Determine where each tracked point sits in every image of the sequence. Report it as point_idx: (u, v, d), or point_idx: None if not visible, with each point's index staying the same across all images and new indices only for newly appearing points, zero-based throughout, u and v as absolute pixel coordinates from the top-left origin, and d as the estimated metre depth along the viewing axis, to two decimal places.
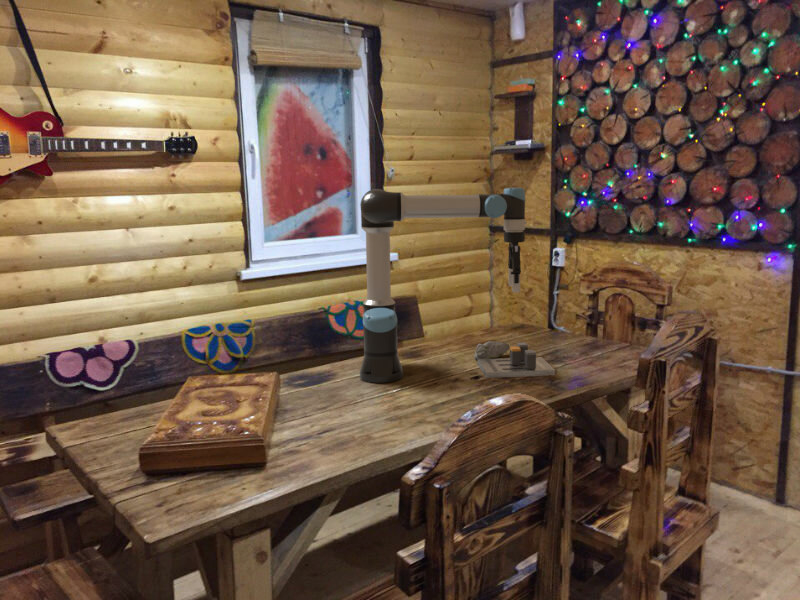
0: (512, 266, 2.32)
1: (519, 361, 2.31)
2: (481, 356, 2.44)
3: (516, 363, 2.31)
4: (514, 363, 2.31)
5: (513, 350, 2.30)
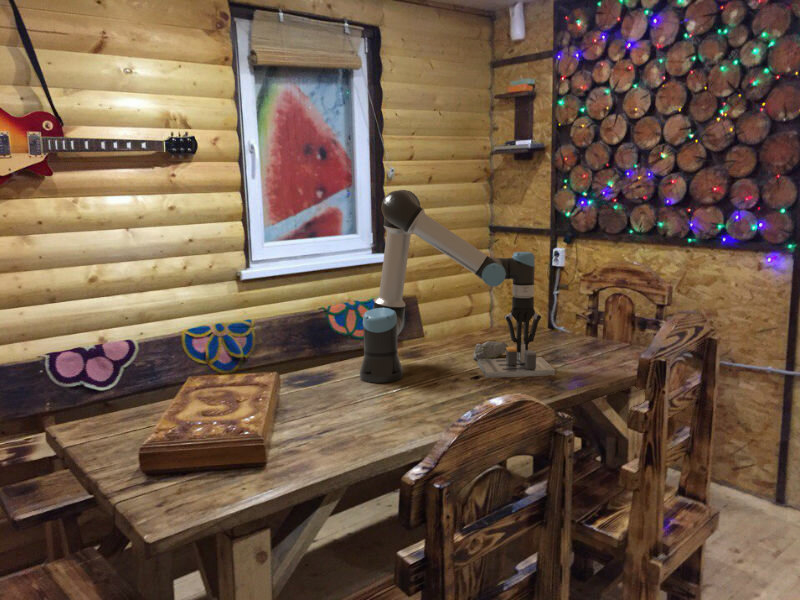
0: None
1: (515, 361, 2.31)
2: (480, 356, 2.44)
3: (512, 363, 2.31)
4: (510, 363, 2.31)
5: (509, 350, 2.30)
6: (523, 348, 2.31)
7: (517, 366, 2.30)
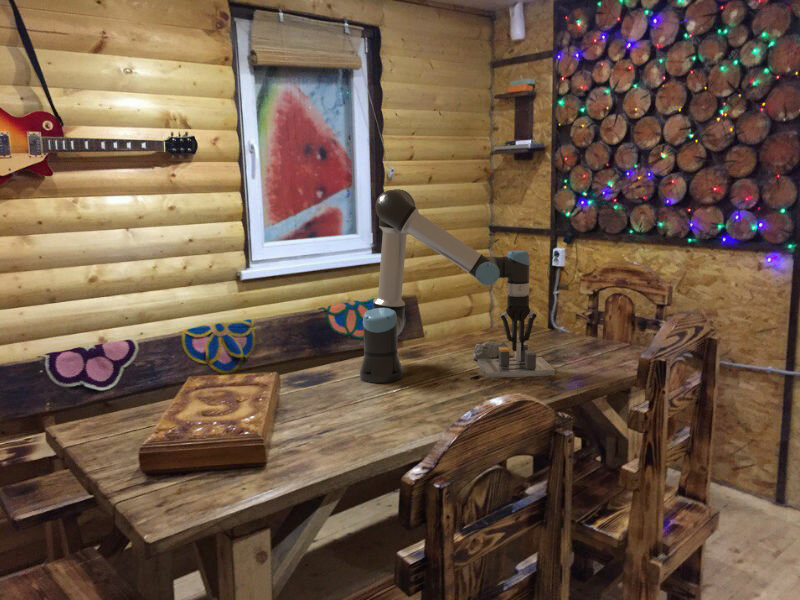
0: None
1: (508, 361, 2.31)
2: (479, 356, 2.44)
3: (505, 363, 2.31)
4: (503, 363, 2.31)
5: (502, 350, 2.30)
6: (518, 347, 2.31)
7: (517, 366, 2.30)
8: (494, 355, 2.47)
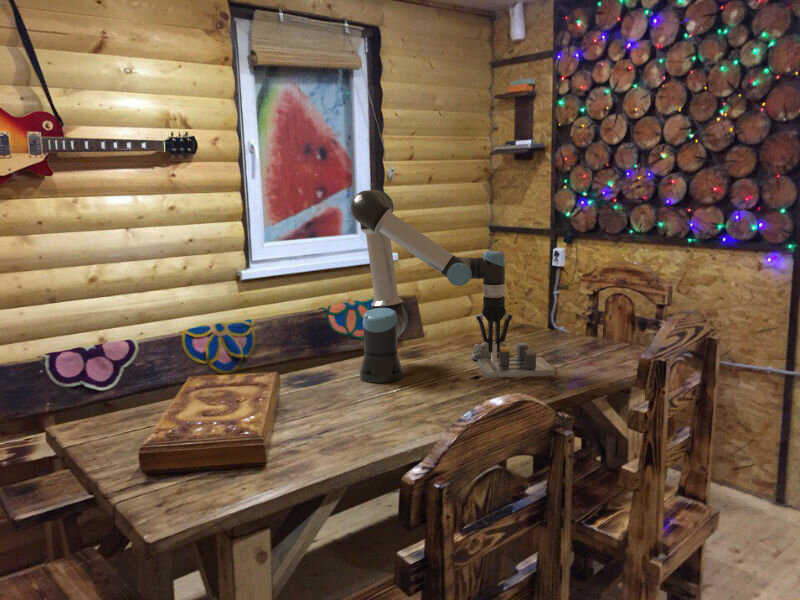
0: None
1: (508, 361, 2.31)
2: (478, 356, 2.44)
3: (505, 363, 2.31)
4: (503, 363, 2.31)
5: (502, 350, 2.30)
6: (494, 348, 2.30)
7: (517, 366, 2.30)
8: None
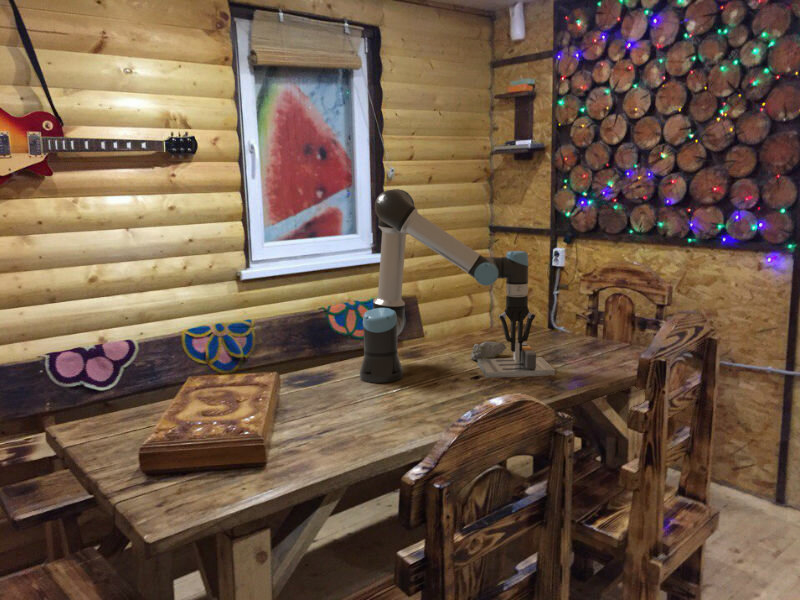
0: None
1: None
2: (478, 356, 2.44)
3: None
4: None
5: (524, 350, 2.30)
6: (517, 347, 2.31)
7: (517, 366, 2.30)
8: (492, 355, 2.47)
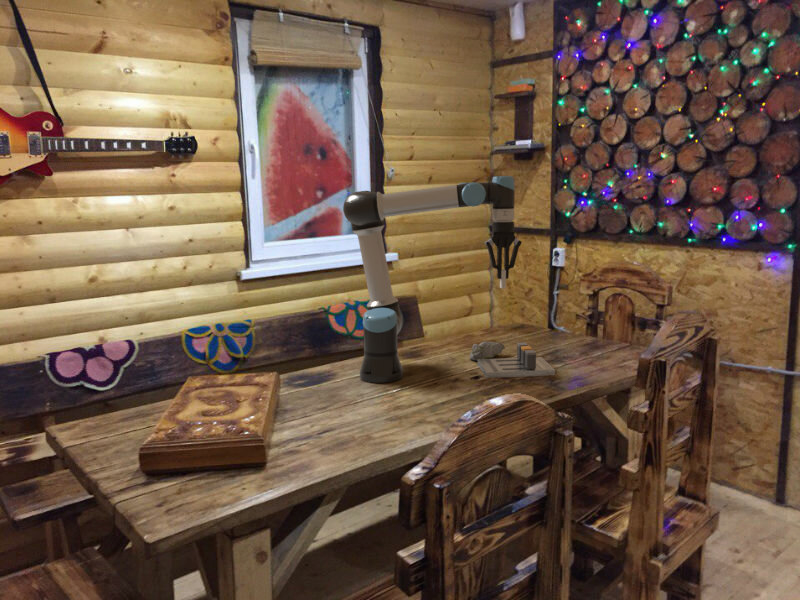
0: None
1: None
2: (477, 356, 2.44)
3: None
4: None
5: (524, 350, 2.30)
6: (503, 274, 2.29)
7: (517, 366, 2.30)
8: (491, 355, 2.47)
